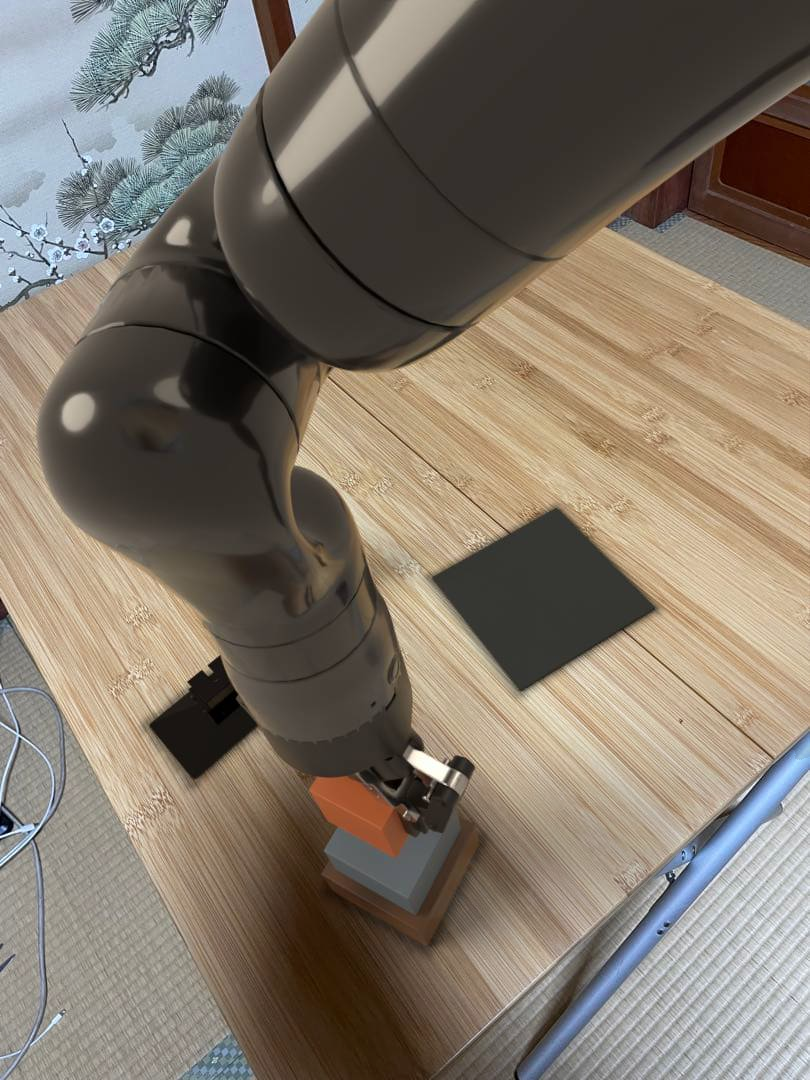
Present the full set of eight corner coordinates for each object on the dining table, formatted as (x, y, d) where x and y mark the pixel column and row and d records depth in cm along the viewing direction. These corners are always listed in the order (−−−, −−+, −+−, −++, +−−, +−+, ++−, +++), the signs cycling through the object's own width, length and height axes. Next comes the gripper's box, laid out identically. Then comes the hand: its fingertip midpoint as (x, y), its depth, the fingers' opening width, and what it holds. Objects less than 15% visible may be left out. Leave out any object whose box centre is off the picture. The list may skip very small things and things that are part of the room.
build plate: (263, 634, 76) (249, 606, 72) (313, 683, 72) (301, 655, 68) (149, 726, 71) (128, 700, 68) (196, 783, 67) (176, 759, 64)
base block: (479, 843, 61) (476, 824, 58) (427, 947, 58) (420, 932, 54) (387, 795, 65) (379, 775, 62) (332, 890, 61) (320, 874, 58)
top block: (436, 786, 52) (426, 752, 48) (396, 859, 49) (382, 830, 46) (369, 752, 54) (354, 717, 50) (327, 821, 51) (308, 790, 48)
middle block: (461, 828, 58) (456, 807, 55) (416, 916, 55) (408, 899, 52) (382, 788, 61) (373, 766, 58) (335, 869, 58) (323, 850, 55)
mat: (654, 610, 72) (655, 607, 71) (520, 692, 69) (520, 690, 68) (556, 509, 80) (556, 507, 80) (432, 579, 77) (431, 576, 76)
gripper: (150, 668, 39) (254, 802, 52) (413, 804, 33) (455, 916, 46) (244, 551, 43) (319, 704, 56) (497, 655, 37) (513, 798, 50)
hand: (380, 799), depth 51 cm, fingers closed on top block, 5 cm apart
